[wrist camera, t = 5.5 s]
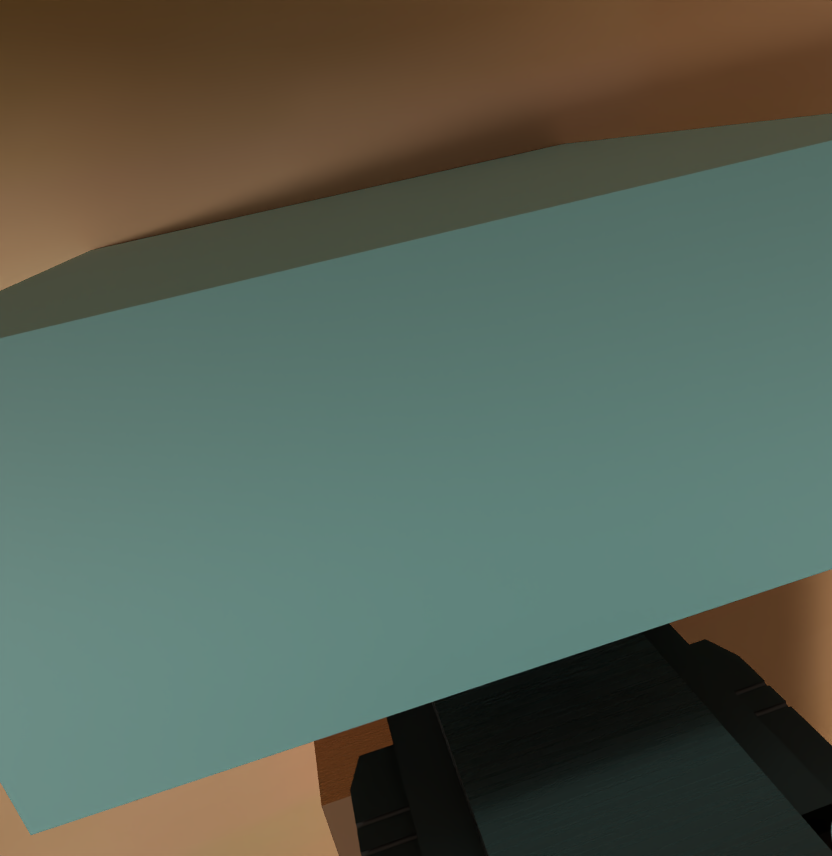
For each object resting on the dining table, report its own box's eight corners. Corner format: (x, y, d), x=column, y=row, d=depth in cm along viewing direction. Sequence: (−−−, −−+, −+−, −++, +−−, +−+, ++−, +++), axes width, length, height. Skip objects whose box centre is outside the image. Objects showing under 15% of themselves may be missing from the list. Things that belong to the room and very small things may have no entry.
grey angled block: (582, 844, 20) (938, 1552, 10) (446, 895, 19) (670, 1700, 9) (491, 279, 14) (1169, 557, 4) (290, 330, 13) (431, 821, 3)
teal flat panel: (90, 250, 17) (-225, 391, 6) (563, 144, 18) (1051, 87, 7) (161, 441, 18) (30, 835, 7) (584, 329, 20) (997, 514, 9)
